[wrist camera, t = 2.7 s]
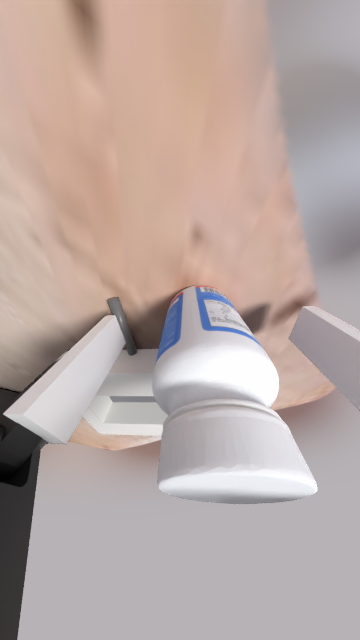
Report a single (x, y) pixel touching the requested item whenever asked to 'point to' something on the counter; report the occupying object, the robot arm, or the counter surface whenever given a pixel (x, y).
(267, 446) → the pill bottle
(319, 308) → the robot arm
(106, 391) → the dock
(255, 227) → the counter surface
